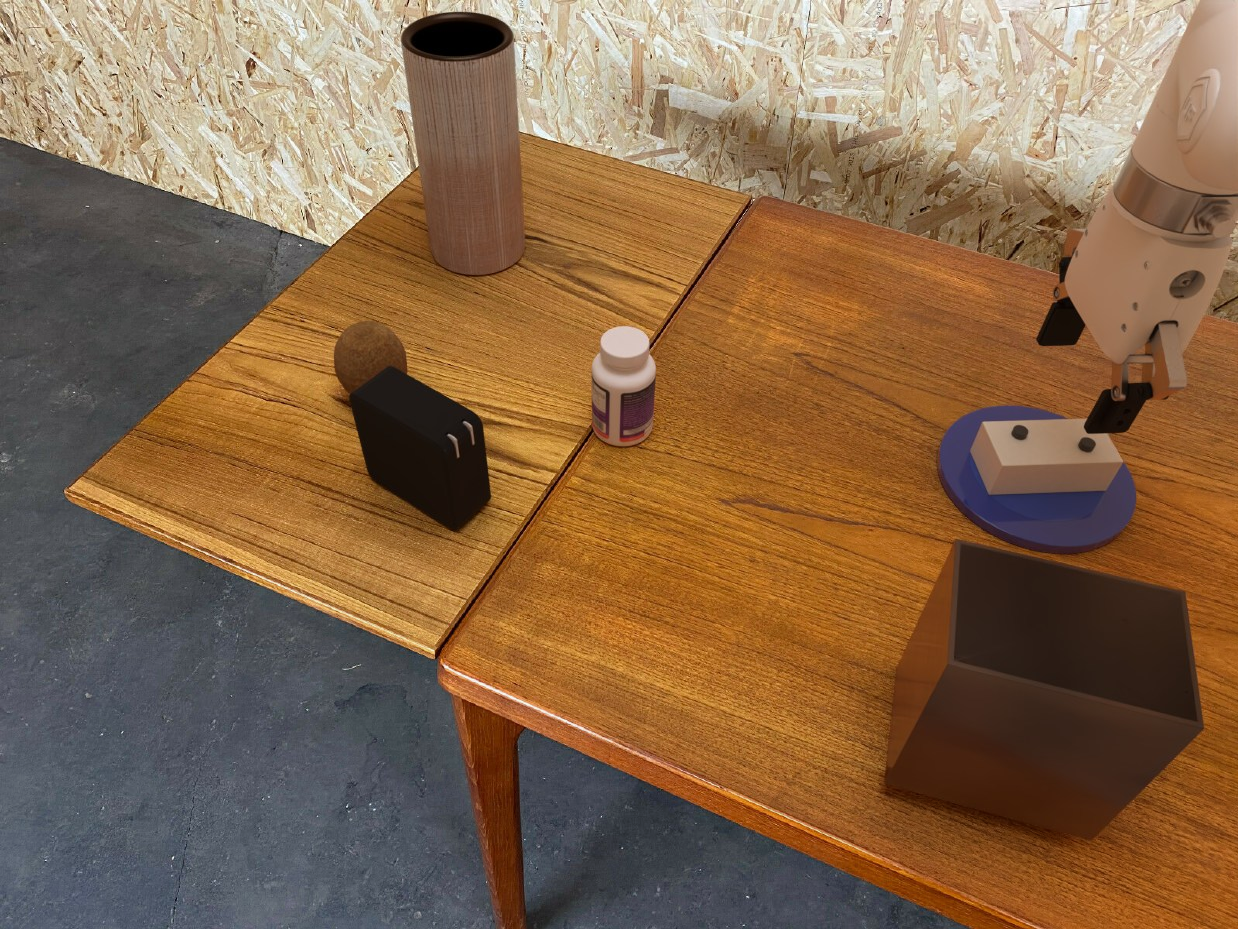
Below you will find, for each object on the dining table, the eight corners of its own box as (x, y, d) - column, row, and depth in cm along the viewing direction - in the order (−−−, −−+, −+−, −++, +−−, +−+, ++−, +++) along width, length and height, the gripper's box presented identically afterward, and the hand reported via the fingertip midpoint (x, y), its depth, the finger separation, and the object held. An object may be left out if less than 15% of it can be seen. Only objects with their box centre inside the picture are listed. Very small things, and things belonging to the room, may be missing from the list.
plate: (1125, 434, 85) (1129, 426, 84) (1139, 574, 74) (1144, 567, 74) (942, 397, 88) (945, 389, 87) (930, 527, 77) (933, 519, 76)
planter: (533, 226, 105) (523, 14, 88) (516, 281, 98) (501, 62, 81) (443, 218, 105) (416, 6, 89) (420, 272, 99) (386, 53, 82)
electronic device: (404, 449, 82) (385, 361, 74) (492, 503, 78) (482, 415, 70) (368, 478, 79) (345, 390, 72) (457, 535, 75) (443, 448, 68)
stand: (1086, 716, 66) (1185, 591, 55) (1091, 841, 60) (1204, 729, 49) (896, 668, 68) (955, 538, 57) (884, 784, 62) (947, 664, 51)
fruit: (329, 396, 86) (309, 326, 80) (385, 363, 89) (371, 294, 83) (370, 431, 83) (354, 362, 77) (427, 396, 86) (415, 327, 80)
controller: (1082, 447, 82) (1101, 412, 79) (1106, 491, 79) (1127, 456, 76) (969, 451, 82) (984, 416, 79) (988, 495, 78) (1004, 460, 75)
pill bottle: (658, 410, 86) (664, 325, 78) (645, 453, 82) (651, 368, 75) (599, 400, 86) (600, 315, 79) (584, 442, 83) (584, 356, 76)
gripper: (1311, 270, 55) (1176, 467, 68) (1176, 119, 67) (1082, 312, 79) (1186, 272, 55) (1074, 470, 68) (1071, 121, 66) (994, 314, 79)
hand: (1078, 385), depth 73 cm, fingers open, 9 cm apart
